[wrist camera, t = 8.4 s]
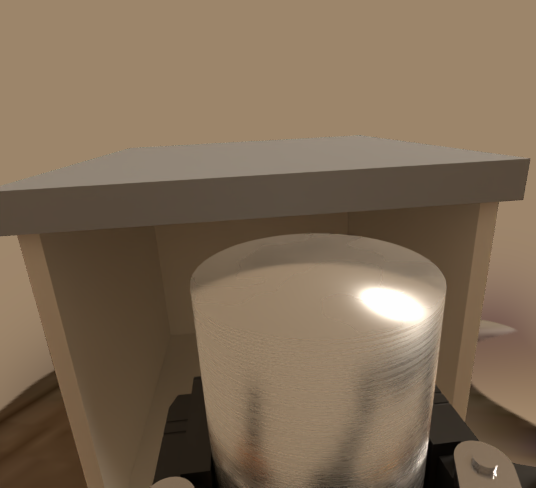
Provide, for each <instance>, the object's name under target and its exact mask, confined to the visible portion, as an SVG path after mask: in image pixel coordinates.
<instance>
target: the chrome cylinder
mask: <svg viewBox="0 0 536 488" xmlns="http://www.w3.org/2000/svg"><path fill="white" fill-rule="evenodd" d="M446 288H447V286H446V280H445V277H444V275H443V273H442V272H441V271H440V270H439V268H438V267H437V266H436V265H435V264H434V263H432V262H431V261H430V260H428V259H427V258H425V257H424V256H422V255H420V254H418V253H416V252H414V251H412V250H410V249H407V248H405V247H402V246H399V245H396V244H393V243H389V242H385V241H381V240H377V239H372V238H367V237H360V236H353V235H343V234H323V233H310V234H291V235H281V236H274V237H267V238H262V239H257V240H253V241H248V242H245V243H242V244H238V245H235V246H232V247H230V248H227V249H225V250H223V251H220V252H218V253H216V254H215V255H213V256H211V257H209V258H208V259H207V260H205V261H204V262H203V263H202V264H201V265H200V266H198V267H197V269H196V270H195V272H194V273H193V275H192V277H191V280H190V293H191V300H192V308H193V316H194V324H195V331H196V339H197V347H198V355H199V362H200V370H201V378H202V386H203V393H204V401H205V409H206V417H207V424H208V432H209V440H210V447H211V453H212V461H213V468H214V476H215V484H216V488H423V484H424V476H425V467H426V459H427V450H428V442H429V433H430V425H431V416H432V407H433V399H434V390H435V382H436V373H437V365H438V356H439V348H440V339H441V331H442V322H443V313H444V305H445V296H446Z"/></svg>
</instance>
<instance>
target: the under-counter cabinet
mask: <svg viewBox="0 0 536 488" xmlns="http://www.w3.org/2000/svg"><path fill="white" fill-rule="evenodd" d="M529 164H530V158H522V157H516V156H508V155H501V154H493V153H486V152H478V151H471V150H464V149H456V148H449V147H441V146H435V145H427V144H420V143H412V142H405V141H398V140H390V139H383V138H376V137H368V136H361V135H359V136H341V137H324V138H305V139H286V140H269V141H251V142H232V143H216V144H196V145H178V146H160V147H142V148H129V149H125V150H122V151H119V152H115V153H112V154H109V155H105V156H102V157H98V158H95V159H91V160H88V161H85V162H81V163H78V164H74V165H71V166H68V167H64V168H60V169H57V170H53V171H50V172H47V173H43V174H40V175H37V176H33V177H30V178H26V179H23V180H19V181H16V182H13V183H9V184H6V185H2V186H0V236H10V235H17V236H18V240H19V243H20V247H21V251H22V254H23V258H24V261H25V265H26V269H27V272H28V276H29V279H30V283H31V287H32V290H33V294H34V297H35V301H36V304H37V308H38V312H39V315H40V318H41V322H42V326H43V330H44V333H45V337H46V340H47V344H48V347H49V351H50V354H51V358H52V362H53V365H54V369H55V373H56V376H57V380H58V383H59V387H60V391H61V394H62V398H63V401H64V405H65V409H66V412H67V416H68V419H69V423H70V427H71V430H72V434H73V437H74V441H75V444H76V448H77V452H78V455H79V459H80V462H81V466H82V470H83V473H84V477H85V480H86V484H87V488H150V487H151V486H152V484H153V480H154V476H155V471H156V466H157V462H158V457H159V452H160V447H161V443H162V438H163V436H164V429H165V424H166V419H167V414H168V410H169V407H170V406H171V404H172V403H173V401H174V400H175V399H176V397H177V396H178V395H183V394H191V393H192V386H193V379H194V377H197V376H201V370H200V362H199V355H198V347H197V339H196V331H195V324H194V316H193V308H192V300H191V293H190V280H191V277H192V275H193V273H194V272H195V270H196V269H197V267H198V266H200V265H201V264H202V263H203V262H204V261H205V260H207V259H208V258H209V257H211V256H213V255H215V254H216V253H218V252H220V251H223V250H225V249H227V248H230V247H232V246H235V245H238V244H242V243H245V242H248V241H253V240H257V239H262V238H267V237H274V236H281V235H291V234H310V233H323V234H343V235H353V236H360V237H367V238H372V239H377V240H381V241H385V242H389V243H393V244H396V245H399V246H402V247H405V248H407V249H410V250H412V251H414V252H416V253H418V254H420V255H422V256H424V257H425V258H427V259H428V260H430V261H431V262H432V263H434V264H435V265H436V266H437V267H438V268H439V270H440V271H441V272H442V273H443V275H444V277H445V280H446V286H447V288H446V296H445V305H444V313H443V322H442V331H441V339H440V348H439V356H438V365H437V373H436V382H435V384H436V385H437V387H438V388H439V389H440V391H441V393H442V394H443V395H444V396H445V397H446V399H447V400H448V401H449V404H451V405H452V406H453V408H454V409H455V410H456V412H457V413H458V414H459V415H460V417H461V418H462V419H463V421H464V422H465V417H466V410H467V404H468V398H469V391H470V385H471V378H472V372H473V365H474V359H475V352H476V346H477V340H478V333H479V327H480V320H481V313H482V307H483V301H484V294H485V287H486V282H487V275H488V268H489V262H490V255H491V249H492V243H493V236H494V230H495V223H496V217H497V211H498V204H499V202H501V201H515V200H523V198H524V192H525V185H526V181H527V175H528V169H529Z"/></svg>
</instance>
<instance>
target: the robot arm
mask: <svg viewBox="0 0 536 488" xmlns="http://www.w3.org/2000/svg"><path fill="white" fill-rule="evenodd" d="M150 488H216V484H215V476H214V468H213V461H212V453H211V447H210V440H209V432H208V424H207V417H206V409H205V401H204V393H203V386H202V378H201V376H197V377H194V379H193V386H192V393H191V394H183V395H178V396H177V397H176V399H175V400H174V401H173V403H172V404H171V406H170V407H169V410H168V414H167V419H166V424H165V429H164V436H163V438H162V443H161V447H160V452H159V457H158V462H157V466H156V471H155V476H154V480H153V484H152V486H151V487H150ZM423 488H536V467H532V466H525V465H520V464H515V463H512V462H511V461H510V459H509V458H508V457H507V456H506V455H505V454H504V453H502V452H501V451H500V450H498V449H497V448H495V447H493V446H491V445H489V444H486V443H484V442H480V441H479V440H478V439H477V438H476V436H475V435H474V434H473V432H472V431H471V430H470V428H469V427H468V426H467V425H466V423H465V422H464V421H463V419H462V418H461V417H460V415H459V414H458V413H457V412H456V410H455V409H454V408H453V406H452V405H451V404H449V401H448V400H447V399H446V397H445V396H444V395H443V394H442V393H441V391H440V389H439V388H438V387H437V385H436V384H435V390H434V399H433V407H432V416H431V425H430V433H429V442H428V450H427V459H426V467H425V476H424V484H423Z"/></svg>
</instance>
